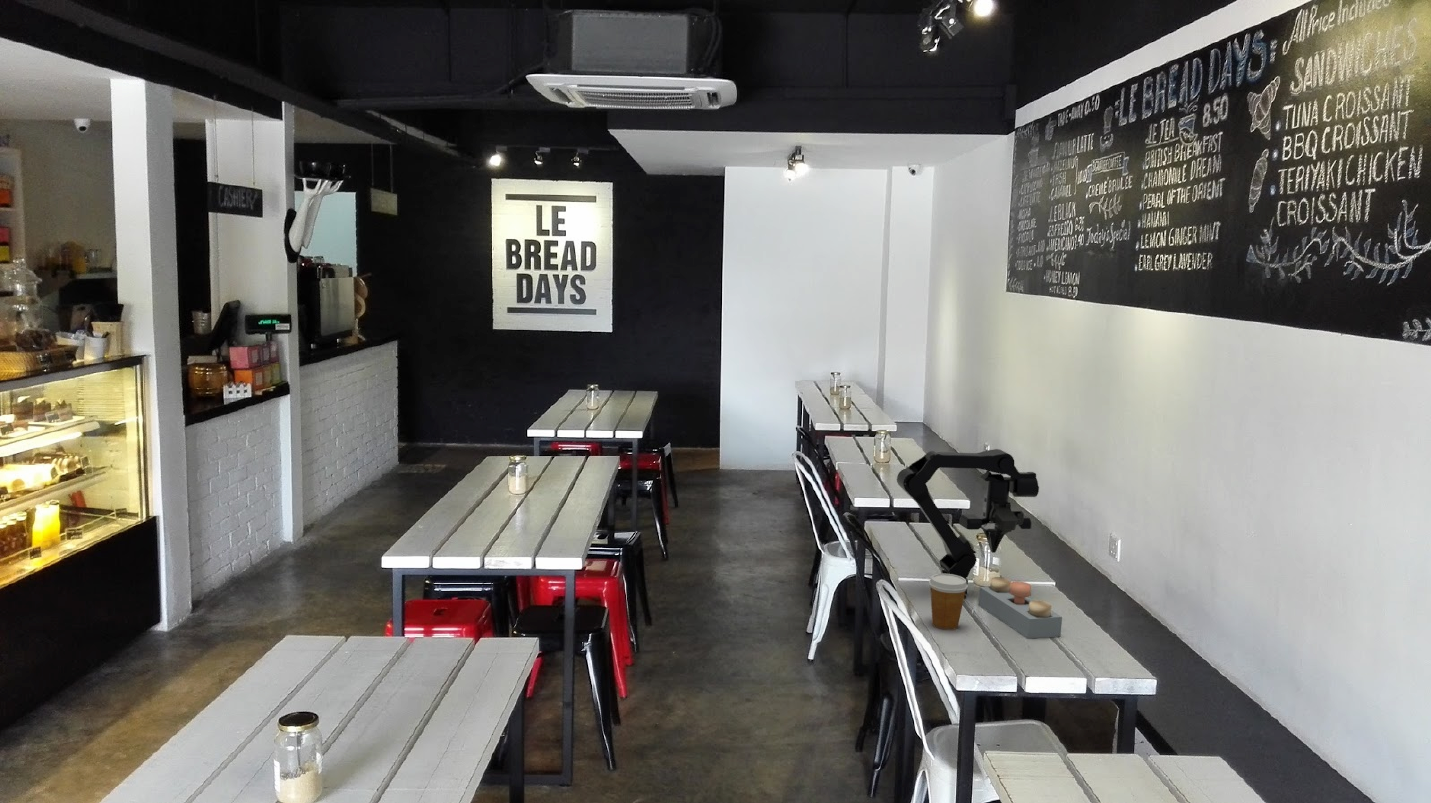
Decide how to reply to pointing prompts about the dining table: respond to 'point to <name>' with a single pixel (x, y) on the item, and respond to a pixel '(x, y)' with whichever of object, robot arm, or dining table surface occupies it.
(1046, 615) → the knob
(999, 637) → the dining table surface
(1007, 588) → the knob
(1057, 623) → the grey peg holder block
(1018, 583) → the knob middle
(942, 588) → the disposable coffee cup
